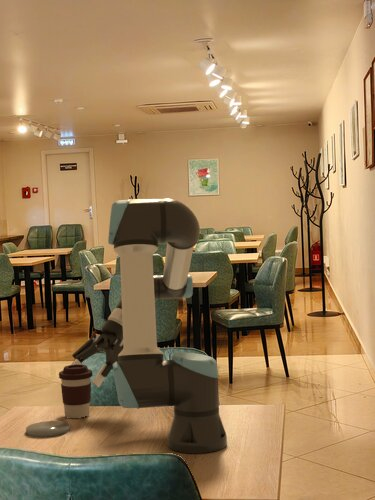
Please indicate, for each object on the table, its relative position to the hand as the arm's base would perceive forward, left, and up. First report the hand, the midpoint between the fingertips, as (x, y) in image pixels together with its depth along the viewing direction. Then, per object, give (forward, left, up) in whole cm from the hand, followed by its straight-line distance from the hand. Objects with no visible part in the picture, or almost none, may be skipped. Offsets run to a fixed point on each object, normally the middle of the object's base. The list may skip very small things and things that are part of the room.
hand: (81, 381), depth 221 cm
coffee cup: (-2, +2, -10) cm, 10 cm away
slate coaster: (-13, +14, -10) cm, 21 cm away
